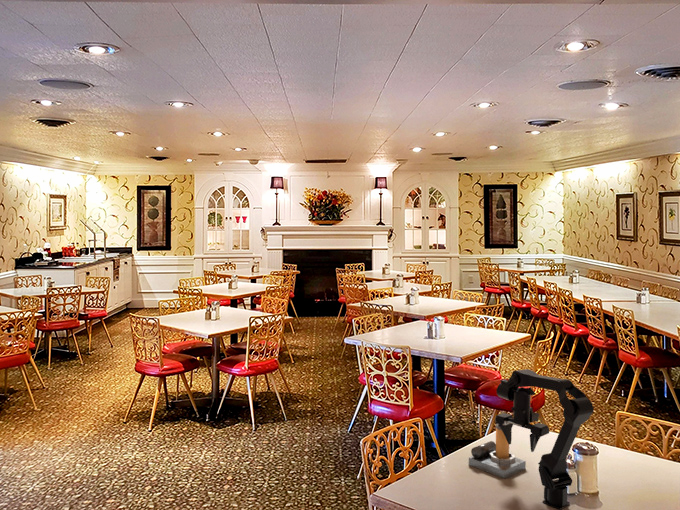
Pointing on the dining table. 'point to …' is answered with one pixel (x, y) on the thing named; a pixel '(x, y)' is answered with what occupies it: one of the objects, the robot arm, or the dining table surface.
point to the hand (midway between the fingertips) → (520, 447)
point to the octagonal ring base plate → (495, 461)
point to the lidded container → (501, 444)
